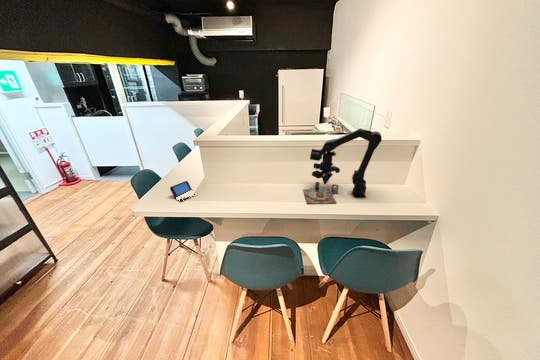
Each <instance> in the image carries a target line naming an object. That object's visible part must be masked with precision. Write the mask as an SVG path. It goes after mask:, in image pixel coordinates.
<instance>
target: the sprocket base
mask: <svg viewBox="0 0 540 360" xmlns="http://www.w3.org/2000/svg"><path fill="white" fill-rule="evenodd" d="M326 189H327V190H328V191H330V192H331V188H326ZM308 190H309V188H303V189H302V192H303V195H304V199H305V201H306V205H337V201H336V199H335V197H334V194H333V195H331V197H330V200H329V201H326V200H325V201H313V199H311V198H309V197H308V196H306V195H305V194H306V192H308Z"/></svg>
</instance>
